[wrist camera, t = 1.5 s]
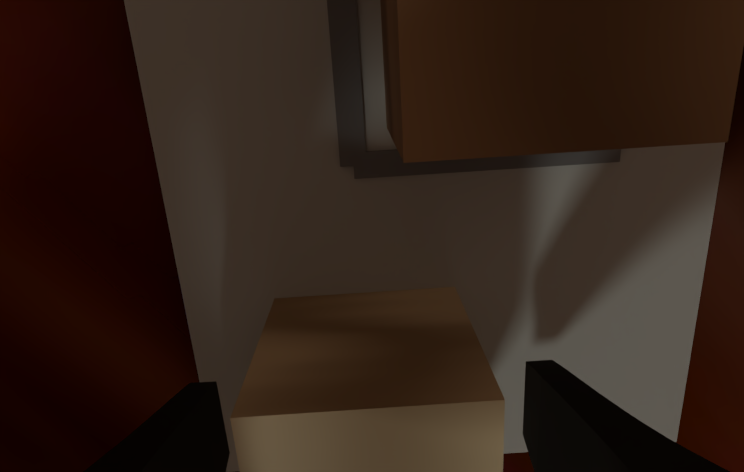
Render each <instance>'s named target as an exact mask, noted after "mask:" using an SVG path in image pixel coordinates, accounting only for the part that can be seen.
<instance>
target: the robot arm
mask: <svg viewBox="0 0 744 472" xmlns="http://www.w3.org/2000/svg"><path fill="white" fill-rule="evenodd" d="M523 437H524V440H525V443H526V447H527V450H528V453H529V456H530V459H531V462H532V465H533V468H534V471H535V472H730V471H728V470H725V469H723V468H721V467H720V466H718V465H716V464H714V463H712V462H710V461H708V460H706V459H705V458H703V457H701V456H699V455H697V454H695V453H693V452H691V451H690V450H688V449H686V448H684V447H682V446H681V445H679V444H677V443H675V442H674V441H672V440H670V439H669V438H667V437H665V436H664V435H662V434H660V433H659V432H657V431H656V430H654V429H652V428H651V427H649V426H647V425H646V424H644V423H643V422H641V421H640V420H638V419H636V418H635V417H633V416H632V415H630V414H629V413H627V412H626V411H624V410H623V409H621V408H620V407H618V406H617V405H616V404H614V403H613V402H611V401H610V400H608V399H607V398H605V397H604V396H603V395H601V394H600V393H598V392H597V391H596V390H594V389H593V388H591V387H590V386H589V385H587V384H586V383H584V382H583V381H582V380H580V379H579V378H578V377H576V376H575V375H573V374H572V373H571V372H569V371H568V370H566V369H565V368H564V367H562V366H561V365H559V364H558V363H556V362H555V361H553V360H540V361H526V368H525V390H524V413H523ZM229 454H230V451H229V446H228V441H227V435H226V430H225V425H224V419H223V414H222V409H221V403H220V398H219V393H218V387H217V382H216V381H213V382H197V383H190V384H188V385H187V386H186V387H184V388H183V389H182V390H181V391H180V392H178V393H177V394H176V395H175V396H174V397H173V398H172V399H170V400H169V401H168V402H167V403H166V404H165V405H164V406H162V407H161V408H160V409H159V410H158V411H157V412H156V413H154V414H153V415H152V416H151V417H150V418H149V419H147V420H146V421H145V422H144V423H143V424H142V425H141V426H139V427H138V428H137V429H136V430H135V431H134V432H132V433H131V434H130V435H129V436H128V437H127V438H125V439H124V440H123V441H122V442H120V443H119V444H118V445H117V446H115V447H114V448H113V449H112V450H110V451H109V452H108V453H107V454H105V455H104V456H103V457H102V458H100V459H99V460H98V461H97V462H95V463H94V464H93V465H92V466H90V467H89V468H88V469H87V470H85V471H84V472H226V468H227V464H228V459H229Z"/></svg>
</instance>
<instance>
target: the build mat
mask: <svg viewBox="0 0 744 472" xmlns="http://www.w3.org/2000/svg"><path fill="white" fill-rule="evenodd" d="M124 4H125V9H126V14H127V19H128V24H129V29H130V34H131V39H132V44H133V49H134V54H135V59H136V64H137V69H138V74H139V79H140V84H141V90H142V95H143V100H144V105H145V110H146V115H147V120H148V125H149V130H150V135H151V140H152V145H153V150H154V155H155V160H156V165H157V170H158V175H159V180H160V185H161V190H162V195H163V201H164V206H165V211H166V216H167V221H168V226H169V231H170V236H171V241H172V246H173V251H174V256H175V261H176V266H177V271H178V276H179V281H180V286H181V291H182V296H183V301H184V306H185V311H186V317H187V322H188V327H189V332H190V337H191V342H192V347H193V352H194V357H195V362H196V367H197V372H198V377H199V382H213V381H216V382H217V387H218V393H219V398H220V403H221V409H222V414H223V419H224V425H225V430H226V435H227V441H228V446H229V451H230V454H229V459H228V464H227V468H226V472H235V471H240V470H239V465H238V459H237V454H236V448H235V442H234V437H233V431H232V426H231V420H230V417H231V414H232V412H233V409H234V406H235V404H236V401H237V398H238V396H239V393H240V390H241V387H242V385H243V382H244V379H245V377H246V374H247V371H248V369H249V366H250V363H251V360H252V358H253V355H254V352H255V350H256V347H257V344H258V342H259V339H260V336H261V334H262V331H263V328H264V325H265V323H266V320H267V317H268V315H269V312H270V309H271V307H272V304H273V301H274V298H290V297H305V296H320V295H336V294H351V293H366V292H381V291H397V290H412V289H427V288H443V287H455V288H456V290H457V293H458V295H459V297H460V299H461V302H462V304H463V306H464V309H465V311H466V313H467V315H468V318H469V320H470V322H471V324H472V327H473V329H474V331H475V333H476V336H477V338H478V340H479V342H480V345H481V347H482V349H483V351H484V354H485V356H486V358H487V360H488V363H489V365H490V367H491V370H492V372H493V374H494V376H495V379H496V381H497V383H498V385H499V388H500V390H501V392H502V394H503V397H504V399H505V415H504V450H503V454H504V453H519V452H528V450H527V447H526V443H525V440H524V437H523V413H524V390H525V368H526V361H540V360H553V361H555V362H556V363H558V364H559V365H561V366H562V367H564V368H565V369H566V370H568V371H569V372H571V373H572V374H573V375H575V376H576V377H578V378H579V379H580V380H582V381H583V382H584V383H586V384H587V385H589V386H590V387H591V388H593V389H594V390H596V391H597V392H598V393H600V394H601V395H603V396H604V397H605V398H607V399H608V400H610V401H611V402H613V403H614V404H616V405H617V406H618V407H620V408H621V409H623V410H624V411H626V412H627V413H629V414H630V415H632V416H633V417H635V418H636V419H638V420H640V421H641V422H643V423H644V424H646V425H647V426H649V427H651V428H652V429H654V430H656V431H657V432H659V433H660V434H662V435H664V436H665V437H667V438H669V439H670V440H672V441H674V442H677V436H678V429H679V423H680V417H681V411H682V405H683V399H684V393H685V386H686V380H687V374H688V368H689V362H690V356H691V350H692V343H693V337H694V331H695V325H696V319H697V313H698V307H699V300H700V294H701V288H702V282H703V276H704V270H705V264H706V257H707V251H708V245H709V239H710V233H711V227H712V220H713V214H714V208H715V202H716V196H717V190H718V184H719V177H720V171H721V165H722V159H723V153H724V147H725V142H721V143H706V144H690V145H675V146H659V147H644V148H628V149H613V150H597V151H581V152H566V153H550V154H535V155H519V156H504V157H488V158H473V159H457V160H441V161H426V162H410V163H403V160H402V158H401V156H400V154H399V152H398V150H397V148H396V146H395V144H394V142H393V140H392V138H391V136H390V133H389V131H388V129H387V125H386V105H385V85H384V65H383V45H382V25H381V5H380V0H124Z"/></svg>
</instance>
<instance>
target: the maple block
mask: <svg viewBox="0 0 744 472" xmlns="http://www.w3.org/2000/svg"><path fill="white" fill-rule="evenodd" d="M504 415H505V399H504V397H503V394H502V392H501V390H500V388H499V385H498V383H497V381H496V379H495V376H494V374H493V372H492V370H491V367H490V365H489V363H488V360H487V358H486V356H485V354H484V351H483V349H482V347H481V345H480V342H479V340H478V338H477V336H476V333H475V331H474V329H473V327H472V324H471V322H470V320H469V318H468V315H467V313H466V311H465V309H464V306H463V304H462V302H461V299H460V297H459V295H458V293H457V290H456V288H455V287H443V288H427V289H412V290H397V291H381V292H366V293H351V294H336V295H320V296H305V297H290V298H274V301H273V304H272V307H271V309H270V312H269V315H268V317H267V320H266V323H265V325H264V328H263V331H262V334H261V336H260V339H259V342H258V344H257V347H256V350H255V352H254V355H253V358H252V360H251V363H250V366H249V369H248V371H247V374H246V377H245V379H244V382H243V385H242V387H241V390H240V393H239V396H238V398H237V401H236V404H235V406H234V409H233V412H232V414H231V417H230V420H231V426H232V431H233V437H234V442H235V448H236V454H237V459H238V465H239V470H240V472H503V450H504Z"/></svg>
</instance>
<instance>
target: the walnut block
mask: <svg viewBox="0 0 744 472" xmlns="http://www.w3.org/2000/svg"><path fill="white" fill-rule="evenodd" d="M380 5H381V25H382V45H383V65H384V85H385V105H386V125H387V129H388V131H389V133H390V136H391V138H392V140H393V142H394V144H395V146H396V148H397V150H398V152H399V154H400V156H401V158H402V160H403V163H410V162H426V161H441V160H457V159H473V158H488V157H504V156H519V155H535V154H550V153H566V152H581V151H597V150H613V149H628V148H644V147H659V146H675V145H690V144H706V143H721V142H728V138H729V132H730V126H731V120H732V113H733V107H734V101H735V95H736V89H737V83H738V77H739V71H740V65H741V59H742V53H743V46H744V0H380Z"/></svg>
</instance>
